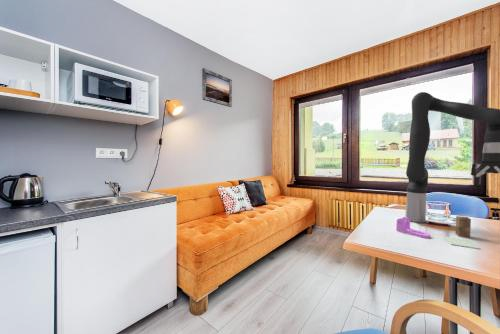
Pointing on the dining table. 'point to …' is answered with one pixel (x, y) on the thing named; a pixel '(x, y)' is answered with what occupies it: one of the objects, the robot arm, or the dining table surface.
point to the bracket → (405, 228)
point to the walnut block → (463, 226)
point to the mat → (461, 242)
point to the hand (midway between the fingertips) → (491, 185)
